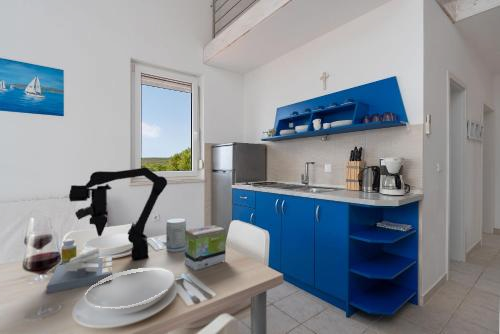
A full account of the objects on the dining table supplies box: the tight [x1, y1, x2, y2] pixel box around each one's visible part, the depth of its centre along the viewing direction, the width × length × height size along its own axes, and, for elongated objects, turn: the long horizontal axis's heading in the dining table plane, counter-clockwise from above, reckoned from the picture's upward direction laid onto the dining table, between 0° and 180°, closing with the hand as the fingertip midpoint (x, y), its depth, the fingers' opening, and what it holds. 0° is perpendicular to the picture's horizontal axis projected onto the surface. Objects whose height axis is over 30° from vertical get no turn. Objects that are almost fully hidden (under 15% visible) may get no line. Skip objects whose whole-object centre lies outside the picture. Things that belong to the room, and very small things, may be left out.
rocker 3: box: [64, 263, 99, 272], centre depth 90 cm, size 10×4×2 cm, turn 120°
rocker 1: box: [70, 248, 101, 262], centre depth 100 cm, size 10×4×2 cm, turn 120°
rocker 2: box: [69, 253, 100, 263], centre depth 95 cm, size 10×4×2 cm, turn 120°
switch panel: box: [46, 256, 113, 294], centre depth 95 cm, size 19×19×6 cm
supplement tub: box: [165, 217, 187, 253], centre depth 124 cm, size 10×10×15 cm
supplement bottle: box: [60, 238, 78, 265], centre depth 109 cm, size 5×5×10 cm
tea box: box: [184, 224, 227, 271], centre depth 107 cm, size 15×10×15 cm, turn 131°
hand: (99, 235), depth 107 cm, fingers closed
